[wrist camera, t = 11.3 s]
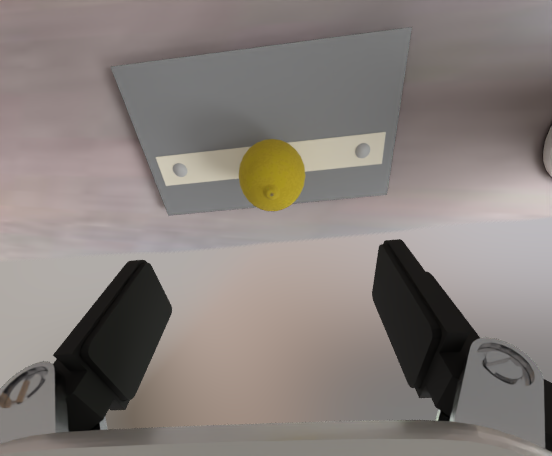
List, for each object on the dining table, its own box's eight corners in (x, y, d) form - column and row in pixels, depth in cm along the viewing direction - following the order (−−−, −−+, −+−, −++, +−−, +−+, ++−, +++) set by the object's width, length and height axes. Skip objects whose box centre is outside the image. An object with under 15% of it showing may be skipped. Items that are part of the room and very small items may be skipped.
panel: (403, 29, 20) (411, 26, 19) (381, 189, 27) (386, 194, 26) (120, 67, 21) (110, 66, 20) (173, 209, 29) (168, 215, 27)
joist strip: (385, 131, 23) (386, 132, 22) (381, 163, 24) (382, 164, 24) (155, 156, 24) (155, 157, 24) (166, 185, 25) (165, 186, 25)
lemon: (264, 195, 26) (260, 239, 19) (232, 150, 23) (215, 181, 17) (310, 169, 24) (324, 206, 18) (282, 118, 22) (286, 138, 15)
